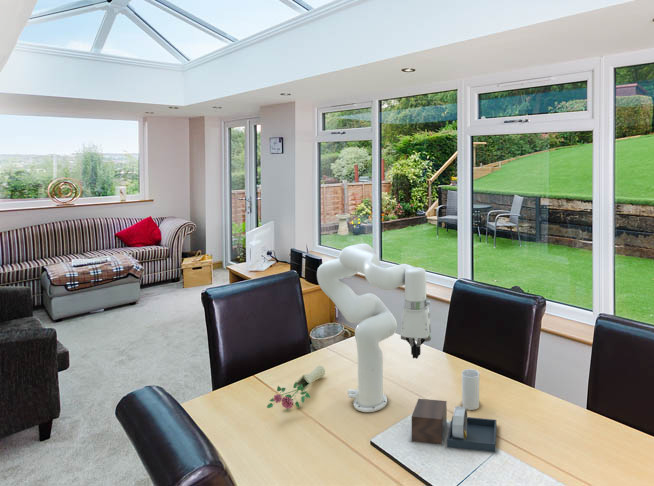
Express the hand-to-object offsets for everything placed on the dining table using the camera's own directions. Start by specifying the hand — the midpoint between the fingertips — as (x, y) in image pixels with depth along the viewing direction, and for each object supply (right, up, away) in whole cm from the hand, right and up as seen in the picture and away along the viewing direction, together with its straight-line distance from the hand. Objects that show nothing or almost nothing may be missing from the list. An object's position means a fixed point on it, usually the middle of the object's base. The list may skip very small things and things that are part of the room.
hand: (415, 356), depth 149 cm
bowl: (+13, -18, -9) cm, 24 cm away
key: (+15, -21, -9) cm, 27 cm away
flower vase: (-45, -24, +16) cm, 53 cm away
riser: (+5, -23, -6) cm, 24 cm away
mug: (+21, -24, +12) cm, 34 cm away
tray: (+19, -23, -8) cm, 31 cm away
